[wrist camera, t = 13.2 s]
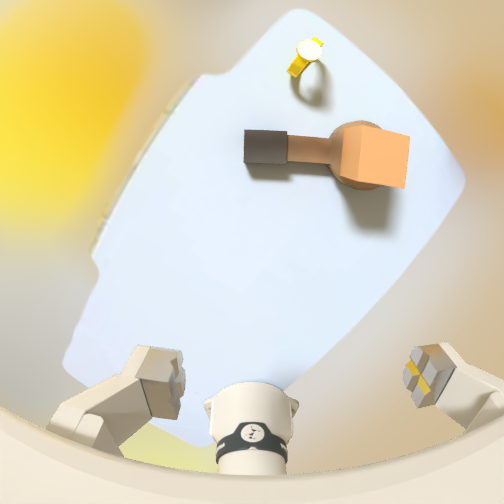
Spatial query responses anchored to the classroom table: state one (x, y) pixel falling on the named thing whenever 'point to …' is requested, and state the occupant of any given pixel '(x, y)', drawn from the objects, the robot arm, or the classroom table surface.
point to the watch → (305, 55)
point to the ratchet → (302, 150)
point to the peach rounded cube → (375, 156)
